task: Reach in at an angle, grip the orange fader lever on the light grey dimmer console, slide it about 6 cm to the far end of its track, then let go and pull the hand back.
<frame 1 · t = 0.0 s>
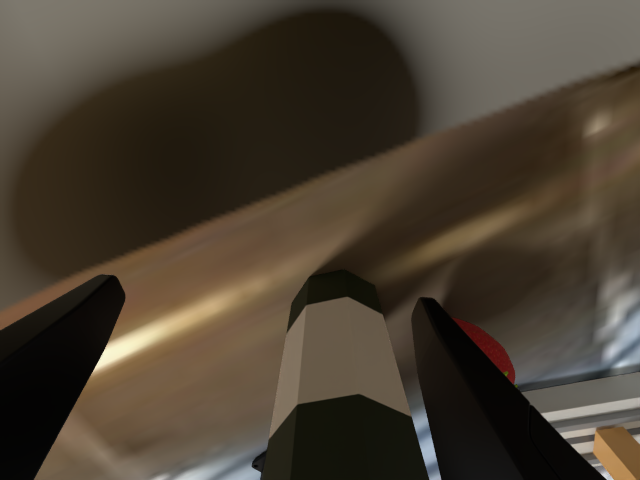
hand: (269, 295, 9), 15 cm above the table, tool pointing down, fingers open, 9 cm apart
wine bottle: (336, 307, 28), on the table
strawberry: (441, 319, 29), on the table
dimmer console: (584, 413, 33), on the table
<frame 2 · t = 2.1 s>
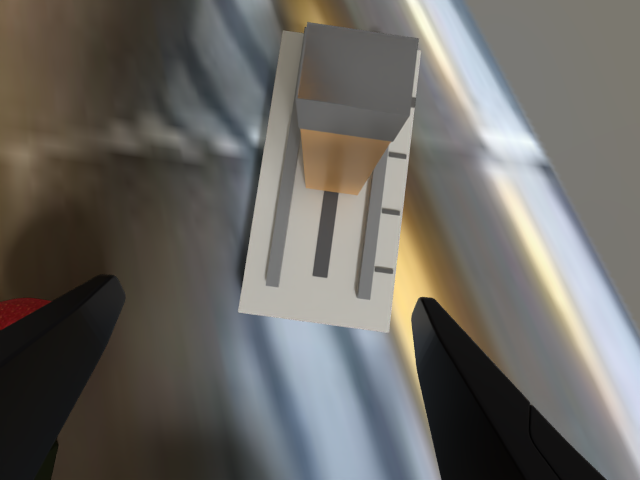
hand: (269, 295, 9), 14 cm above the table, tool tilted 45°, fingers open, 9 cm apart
fader lever: (341, 140, 15), point 8 cm above the table, slide at 0.0 cm
wine bottle: (0, 458, 21), on the table
strawberry: (83, 333, 22), on the table
dimmer console: (331, 185, 23), on the table
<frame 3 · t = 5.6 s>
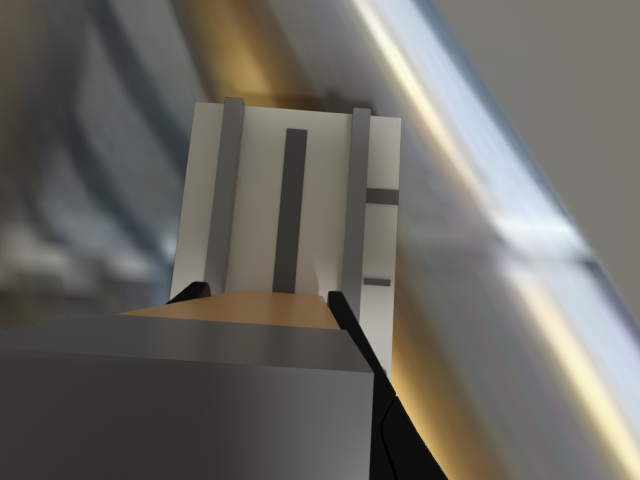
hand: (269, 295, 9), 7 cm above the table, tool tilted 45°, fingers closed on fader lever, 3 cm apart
fader lever: (257, 354, 8), point 8 cm above the table, slide at 0.0 cm, touching gripper
dimmer console: (285, 313, 16), on the table
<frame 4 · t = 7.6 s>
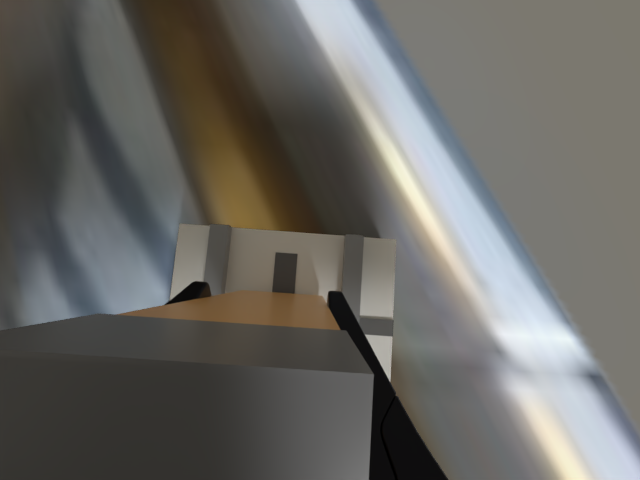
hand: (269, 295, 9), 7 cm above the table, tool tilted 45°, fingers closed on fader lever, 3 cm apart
fader lever: (257, 354, 8), point 8 cm above the table, slide at 6.0 cm, touching gripper
dimmer console: (275, 435, 15), on the table
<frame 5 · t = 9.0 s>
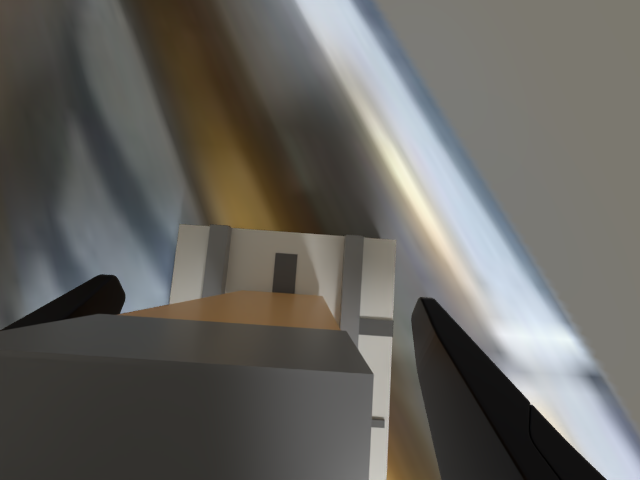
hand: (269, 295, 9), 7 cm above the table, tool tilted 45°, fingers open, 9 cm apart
fader lever: (257, 354, 8), point 8 cm above the table, slide at 6.0 cm
dimmer console: (275, 435, 15), on the table
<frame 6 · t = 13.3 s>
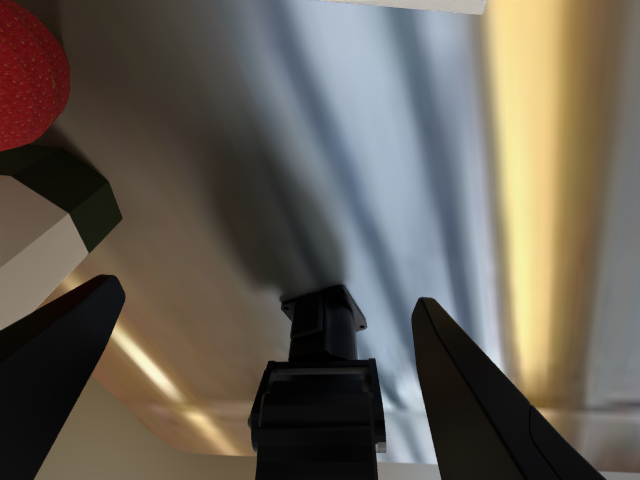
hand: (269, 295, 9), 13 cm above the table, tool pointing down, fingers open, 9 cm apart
wine bottle: (65, 195, 23), on the table
strawberry: (62, 57, 17), on the table
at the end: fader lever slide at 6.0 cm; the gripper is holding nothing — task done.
